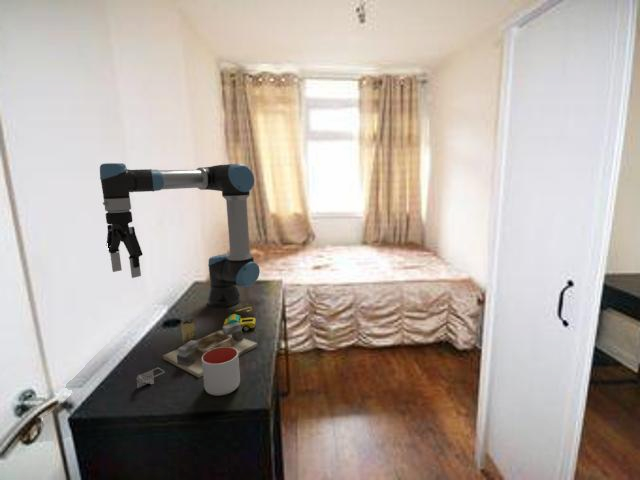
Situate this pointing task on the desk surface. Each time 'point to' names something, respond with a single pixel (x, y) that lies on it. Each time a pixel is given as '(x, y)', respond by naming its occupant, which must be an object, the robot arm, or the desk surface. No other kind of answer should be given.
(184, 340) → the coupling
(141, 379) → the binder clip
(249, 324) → the toy car
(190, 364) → the shaft rig
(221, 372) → the cup
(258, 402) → the desk surface
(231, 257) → the robot arm
